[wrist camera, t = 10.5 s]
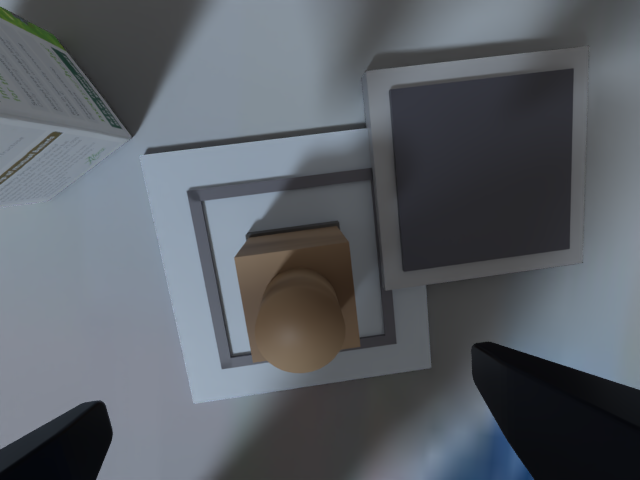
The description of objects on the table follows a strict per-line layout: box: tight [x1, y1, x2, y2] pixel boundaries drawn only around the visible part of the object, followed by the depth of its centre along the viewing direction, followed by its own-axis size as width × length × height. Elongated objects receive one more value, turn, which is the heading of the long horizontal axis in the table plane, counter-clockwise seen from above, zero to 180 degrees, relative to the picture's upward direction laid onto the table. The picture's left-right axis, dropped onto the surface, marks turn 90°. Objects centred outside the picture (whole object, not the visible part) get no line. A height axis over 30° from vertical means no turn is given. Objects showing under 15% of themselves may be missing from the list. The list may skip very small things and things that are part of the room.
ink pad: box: [362, 46, 589, 291], centre depth 18 cm, size 11×11×2 cm
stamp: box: [234, 220, 361, 373], centre depth 15 cm, size 5×5×8 cm
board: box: [139, 128, 431, 404], centre depth 19 cm, size 14×14×1 cm
